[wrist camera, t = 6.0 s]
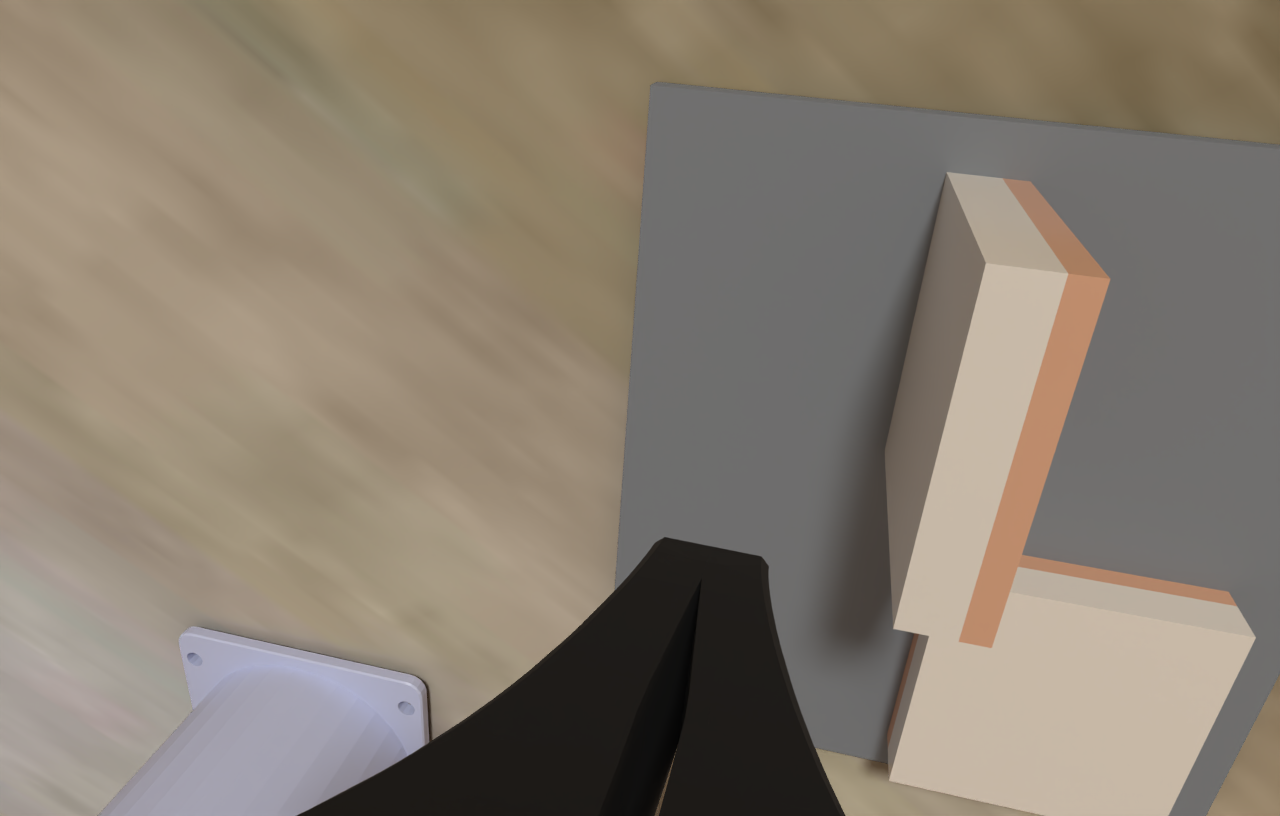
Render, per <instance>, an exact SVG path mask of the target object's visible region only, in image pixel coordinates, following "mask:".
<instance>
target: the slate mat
mask: <svg viewBox="0 0 1280 816" xmlns="http://www.w3.org/2000/svg"><path fill="white" fill-rule="evenodd" d="M946 172H951V173H959V174H968V175H977V176H986V177H995V178H1004V179H1013V180H1022V181H1031V183H1032V184H1033V185H1034V186H1035V188H1036V189H1037V190H1038V191H1039V192H1040V194H1041V195H1042V196H1043V197H1044V199H1045V200H1046V201H1047V202H1048V203H1049V205H1050V206H1051V207H1052V208H1053V209H1054V211H1055V212H1056V213H1057V214H1058V216H1059V217H1060V218H1061V219H1062V220H1063V222H1064V223H1065V224H1066V225H1067V227H1068V228H1069V229H1070V230H1071V231H1072V233H1073V234H1074V235H1075V236H1076V238H1077V239H1078V240H1079V241H1080V242H1081V244H1082V245H1083V246H1084V247H1085V248H1086V250H1087V251H1088V252H1089V253H1090V255H1091V256H1092V257H1093V258H1094V259H1095V261H1096V262H1097V263H1098V264H1099V266H1100V267H1101V268H1102V269H1103V270H1104V272H1105V273H1106V274H1107V275H1108V277H1109V278H1110V282H1109V285H1108V289H1107V292H1106V295H1105V298H1104V301H1103V304H1102V307H1101V310H1100V313H1099V316H1098V320H1097V323H1096V326H1095V329H1094V332H1093V335H1092V338H1091V341H1090V344H1089V348H1088V351H1087V354H1086V357H1085V360H1084V363H1083V366H1082V369H1081V372H1080V376H1079V379H1078V382H1077V385H1076V388H1075V391H1074V394H1073V397H1072V400H1071V403H1070V407H1069V410H1068V413H1067V416H1066V419H1065V422H1064V425H1063V428H1062V431H1061V435H1060V438H1059V441H1058V444H1057V447H1056V450H1055V453H1054V456H1053V459H1052V463H1051V466H1050V469H1049V472H1048V475H1047V478H1046V481H1045V484H1044V487H1043V490H1042V494H1041V497H1040V500H1039V503H1038V506H1037V509H1036V512H1035V515H1034V518H1033V522H1032V525H1031V528H1030V531H1029V534H1028V537H1027V540H1026V543H1025V546H1024V550H1023V553H1022V555H1026V556H1031V557H1037V558H1042V559H1048V560H1054V561H1059V562H1065V563H1070V564H1076V565H1081V566H1087V567H1093V568H1098V569H1104V570H1109V571H1115V572H1121V573H1126V574H1132V575H1137V576H1143V577H1149V578H1154V579H1160V580H1165V581H1171V582H1177V583H1182V584H1188V585H1193V586H1199V587H1205V588H1210V589H1216V590H1221V591H1227V592H1229V593H1230V595H1231V597H1232V598H1233V600H1234V602H1235V603H1236V605H1237V607H1238V608H1239V610H1240V612H1241V613H1242V615H1243V617H1244V618H1245V620H1246V622H1247V623H1248V625H1249V627H1250V628H1251V630H1252V632H1253V634H1254V635H1255V637H1256V639H1255V641H1254V643H1253V645H1252V647H1251V649H1250V651H1249V653H1248V655H1247V657H1246V659H1245V661H1244V663H1243V665H1242V667H1241V669H1240V671H1239V673H1238V675H1237V677H1236V679H1235V681H1234V683H1233V685H1232V687H1231V690H1230V692H1229V694H1228V696H1227V698H1226V700H1225V702H1224V704H1223V706H1222V708H1221V710H1220V712H1219V714H1218V716H1217V718H1216V720H1215V722H1214V724H1213V726H1212V728H1211V730H1210V732H1209V734H1208V736H1207V738H1206V740H1205V742H1204V744H1203V746H1202V748H1201V750H1200V752H1199V755H1198V757H1197V759H1196V761H1195V763H1194V765H1193V767H1192V769H1191V771H1190V773H1189V775H1188V777H1187V779H1186V781H1185V783H1184V785H1183V787H1182V789H1181V791H1180V793H1179V795H1178V797H1177V799H1176V801H1175V803H1174V805H1173V807H1172V809H1171V811H1170V813H1169V815H1168V816H1206V815H1207V813H1208V811H1209V809H1210V807H1211V805H1212V803H1213V801H1214V799H1215V797H1216V795H1217V793H1218V792H1219V790H1220V788H1221V786H1222V784H1223V782H1224V780H1225V778H1226V776H1227V774H1228V772H1229V770H1230V768H1231V767H1232V765H1233V763H1234V761H1235V759H1236V757H1237V755H1238V753H1239V751H1240V749H1241V747H1242V745H1243V743H1244V742H1245V740H1246V738H1247V736H1248V734H1249V732H1250V730H1251V728H1252V726H1253V724H1254V722H1255V720H1256V719H1257V717H1258V715H1259V713H1260V711H1261V709H1262V707H1263V705H1264V703H1265V701H1266V699H1267V697H1268V695H1269V694H1270V692H1271V690H1272V688H1273V686H1274V684H1275V682H1276V680H1277V678H1278V676H1279V674H1280V145H1276V144H1266V143H1256V142H1247V141H1237V140H1227V139H1217V138H1207V137H1197V136H1187V135H1177V134H1168V133H1158V132H1148V131H1138V130H1128V129H1118V128H1108V127H1098V126H1088V125H1079V124H1069V123H1059V122H1049V121H1039V120H1029V119H1019V118H1009V117H999V116H990V115H980V114H970V113H960V112H950V111H940V110H930V109H920V108H911V107H901V106H891V105H881V104H871V103H861V102H851V101H841V100H831V99H822V98H812V97H802V96H792V95H782V94H772V93H762V92H752V91H743V90H733V89H723V88H713V87H703V86H693V85H683V84H673V83H663V82H656V83H654V84H652V85H651V86H650V100H649V114H648V128H647V142H646V156H645V170H644V184H643V198H642V213H641V227H640V241H639V255H638V269H637V283H636V297H635V311H634V325H633V339H632V354H631V368H630V382H629V396H628V410H627V424H626V438H625V452H624V466H623V480H622V495H621V509H620V523H619V537H618V551H617V565H616V579H615V590H616V589H617V588H618V587H619V586H620V584H621V583H622V582H623V581H624V580H625V579H626V578H627V577H628V576H629V574H630V573H631V572H632V571H633V570H634V569H635V568H636V566H637V565H638V564H639V563H640V561H641V560H642V559H643V558H644V557H645V555H646V554H647V553H648V551H649V550H650V549H651V547H652V546H653V545H654V543H655V542H657V541H659V540H660V539H662V538H664V537H668V538H673V539H678V540H683V541H688V542H693V543H698V544H703V545H708V546H713V547H717V548H722V549H727V550H732V551H737V552H742V553H747V554H752V555H757V556H762V558H763V559H764V560H765V562H766V563H767V564H768V566H769V589H770V597H771V604H772V610H773V614H774V619H775V624H776V629H777V633H778V637H779V641H780V645H781V649H782V653H783V656H784V659H785V663H786V666H787V669H788V673H789V676H790V680H791V683H792V686H793V690H794V692H795V695H796V698H797V701H798V704H799V707H800V710H801V713H802V716H803V718H804V721H805V723H806V726H807V729H808V731H809V734H810V737H811V739H812V742H813V745H814V747H815V748H819V749H824V750H828V751H833V752H837V753H842V754H846V755H851V756H855V757H860V758H864V759H869V760H873V761H878V762H883V763H887V764H888V741H887V733H888V729H889V726H890V722H891V718H892V714H893V711H894V707H895V703H896V700H897V696H898V692H899V688H900V685H901V681H902V677H903V673H904V670H905V666H906V662H907V658H908V655H909V651H910V647H911V644H912V640H913V636H914V633H912V632H906V631H901V630H896V629H893V615H892V594H891V573H890V553H889V532H888V511H887V491H886V470H885V447H886V442H887V438H888V433H889V429H890V424H891V420H892V415H893V411H894V406H895V402H896V397H897V393H898V388H899V384H900V379H901V375H902V370H903V366H904V361H905V357H906V352H907V348H908V343H909V339H910V334H911V330H912V325H913V321H914V316H915V312H916V307H917V303H918V298H919V294H920V289H921V285H922V280H923V276H924V271H925V267H926V262H927V258H928V253H929V249H930V244H931V240H932V235H933V231H934V226H935V222H936V217H937V213H938V208H939V204H940V199H941V195H942V190H943V186H944V181H945V177H946Z"/></svg>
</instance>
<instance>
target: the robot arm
mask: <svg viewBox="0 0 1280 816" xmlns="http://www.w3.org/2000/svg"><path fill="white" fill-rule="evenodd" d="M179 646H180V651H181V655H182V660H183V665H184V669H185V674H186V679H187V684H188V688H189V693H190V698H191V702H192V707H193V711H192V712H191V713H190V714H189V715H188V717H187V718H186V719H185V720H184V721H183V722H182V723H181V724H180V725H179V726H178V728H177V729H176V730H175V731H174V732H173V733H172V734H171V735H170V736H169V737H168V739H167V740H166V741H165V742H164V743H163V744H162V745H161V746H160V747H159V748H158V750H157V751H156V752H155V753H154V754H153V755H152V756H151V757H150V758H149V759H148V761H147V762H146V763H145V764H144V765H143V766H142V767H141V768H140V769H139V770H138V772H137V773H136V774H135V775H134V776H133V777H132V778H131V779H130V780H129V781H128V782H127V784H126V785H125V786H124V787H123V788H122V789H121V790H120V791H119V792H118V793H117V795H116V796H115V797H114V798H113V799H112V800H111V801H110V802H109V803H108V804H107V806H106V807H105V808H104V809H103V810H102V811H101V812H100V813H99V814H98V815H97V816H654V815H655V812H656V809H657V806H658V803H659V800H660V797H661V794H662V791H663V788H664V785H665V782H666V779H667V776H668V773H669V770H670V767H671V764H672V761H673V758H674V755H675V758H674V762H673V766H672V770H671V773H670V777H669V781H668V785H667V788H666V792H665V796H664V799H663V803H662V807H661V810H660V814H659V816H845V814H844V812H843V810H842V808H841V806H840V804H839V801H838V799H837V797H836V795H835V793H834V791H833V789H832V787H831V784H830V782H829V780H828V778H827V776H826V773H825V771H824V769H823V766H822V764H821V762H820V759H819V757H818V754H817V752H816V749H815V747H814V745H813V742H812V739H811V737H810V734H809V731H808V729H807V726H806V723H805V721H804V718H803V716H802V713H801V710H800V707H799V704H798V701H797V698H796V695H795V692H794V690H793V686H792V683H791V680H790V676H789V673H788V669H787V666H786V663H785V659H784V656H783V653H782V649H781V645H780V641H779V637H778V633H777V629H776V624H775V619H774V614H773V610H772V604H771V597H770V589H769V566H768V564H767V563H766V562H765V560H764V559H763V558H762V556H757V555H752V554H747V553H742V552H737V551H732V550H727V549H722V548H717V547H713V546H708V545H703V544H698V543H693V542H688V541H683V540H678V539H673V538H668V537H664V538H662V539H660V540H659V541H657V542H655V543H654V545H653V546H652V547H651V549H650V550H649V551H648V553H647V554H646V555H645V557H644V558H643V559H642V560H641V561H640V563H639V564H638V565H637V566H636V568H635V569H634V570H633V571H632V572H631V573H630V574H629V576H628V577H627V578H626V579H625V580H624V581H623V582H622V583H621V584H620V586H619V587H618V588H617V589H616V590H615V591H614V592H613V593H612V594H611V595H610V596H609V597H608V598H607V599H606V600H605V601H604V602H603V603H602V604H601V605H600V606H599V607H598V608H597V609H596V610H595V611H594V612H593V613H592V614H591V615H590V616H589V617H588V618H587V619H586V620H585V621H584V622H583V623H582V624H581V625H580V626H579V627H578V628H577V629H576V630H575V631H574V632H573V633H572V634H571V635H570V636H569V637H568V638H566V639H565V640H564V641H563V642H562V643H561V644H559V645H558V646H557V647H556V648H555V649H554V650H553V651H551V652H550V653H549V654H548V655H547V656H546V657H545V658H543V659H542V660H541V661H540V662H539V663H538V664H537V665H535V666H534V667H533V668H532V669H531V670H530V671H528V672H527V673H526V674H525V675H524V676H522V677H521V678H520V679H518V680H517V681H516V682H515V683H513V684H512V685H511V686H510V687H508V688H507V689H506V690H504V691H503V692H502V693H500V694H499V695H498V696H497V697H495V698H494V699H493V700H491V701H490V702H488V703H487V704H486V705H484V706H483V707H481V708H480V709H479V710H477V711H476V712H474V713H473V714H472V715H470V716H469V717H467V718H466V719H465V720H463V721H462V722H460V723H459V724H457V725H456V726H454V727H452V728H451V729H449V730H448V731H446V732H445V733H443V734H442V735H440V736H438V737H437V738H435V739H434V740H432V741H431V742H429V727H428V708H427V690H426V687H425V685H424V683H423V682H422V681H421V680H420V679H419V678H417V677H416V676H413V675H410V674H406V673H401V672H397V671H392V670H388V669H383V668H379V667H374V666H370V665H366V664H361V663H357V662H352V661H348V660H343V659H339V658H334V657H330V656H325V655H321V654H316V653H312V652H308V651H303V650H299V649H294V648H290V647H285V646H281V645H276V644H272V643H267V642H263V641H259V640H254V639H250V638H245V637H241V636H236V635H232V634H227V633H223V632H218V631H214V630H209V629H205V628H201V627H189V628H187V629H186V630H185V631H184V632H183V633H182V634H181V636H180V637H179ZM407 702H408V703H410V704H408V703H407ZM677 746H678V747H677ZM676 749H677V751H676ZM675 752H676V754H675Z"/></svg>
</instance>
